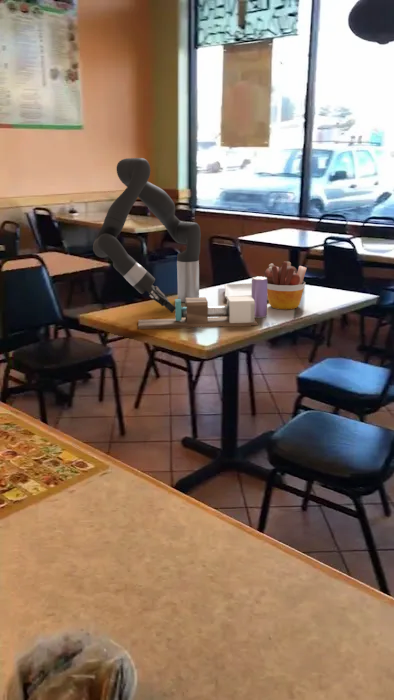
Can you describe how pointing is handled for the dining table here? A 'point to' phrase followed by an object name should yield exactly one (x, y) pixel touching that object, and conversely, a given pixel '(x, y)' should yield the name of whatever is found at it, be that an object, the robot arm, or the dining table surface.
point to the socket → (241, 309)
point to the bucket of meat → (285, 285)
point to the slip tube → (212, 311)
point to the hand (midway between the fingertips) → (173, 310)
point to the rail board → (191, 318)
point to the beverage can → (260, 296)
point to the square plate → (238, 290)
